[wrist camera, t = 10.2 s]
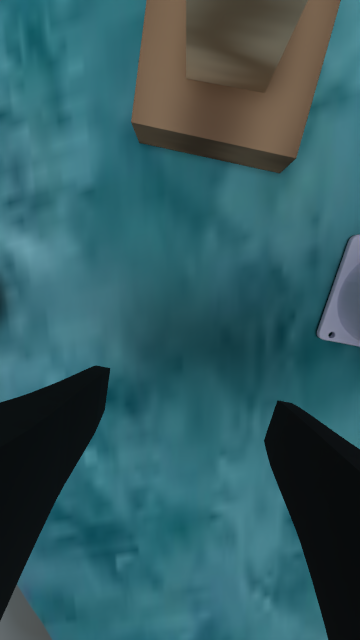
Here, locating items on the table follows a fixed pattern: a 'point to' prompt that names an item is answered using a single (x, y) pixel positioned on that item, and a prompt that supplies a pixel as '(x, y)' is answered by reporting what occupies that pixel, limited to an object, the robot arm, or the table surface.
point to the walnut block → (227, 93)
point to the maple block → (238, 40)
